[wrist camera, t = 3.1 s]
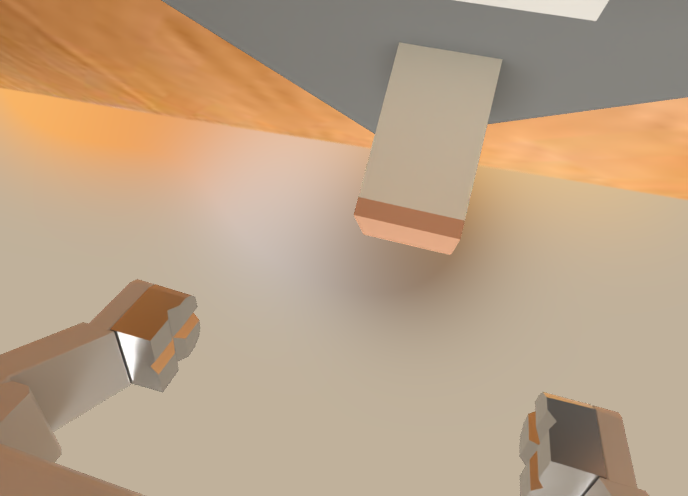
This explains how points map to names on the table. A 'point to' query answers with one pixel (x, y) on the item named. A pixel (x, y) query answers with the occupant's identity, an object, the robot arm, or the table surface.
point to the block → (427, 147)
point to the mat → (466, 48)
